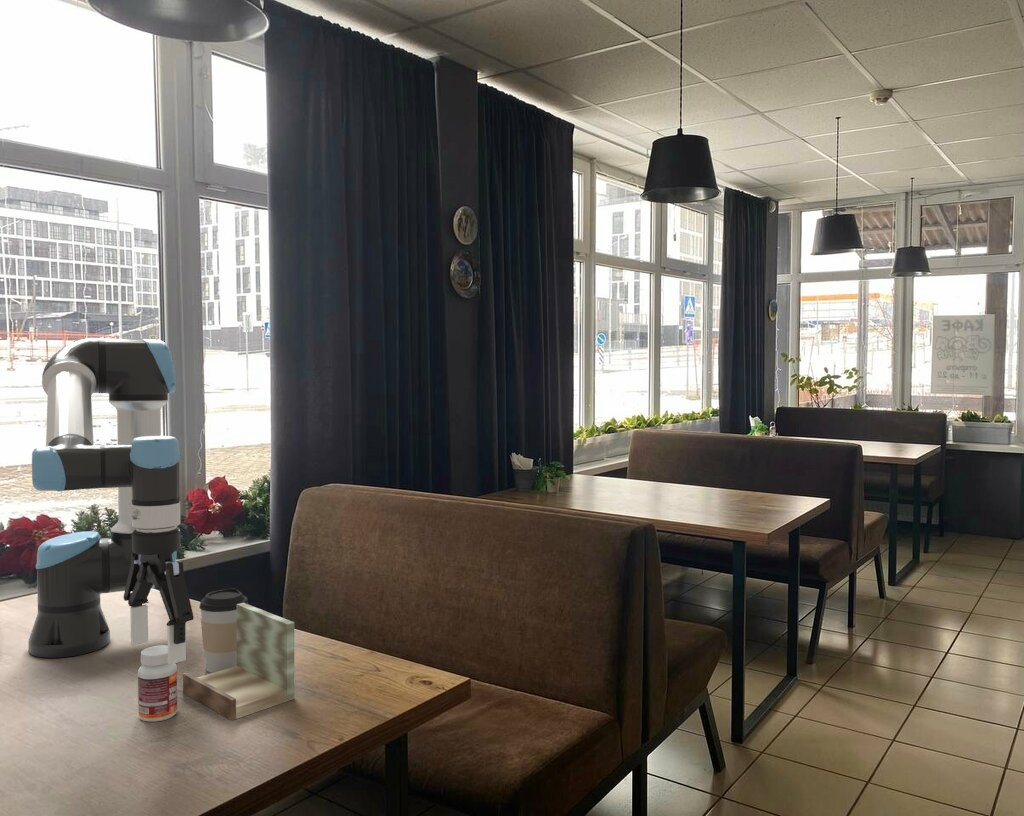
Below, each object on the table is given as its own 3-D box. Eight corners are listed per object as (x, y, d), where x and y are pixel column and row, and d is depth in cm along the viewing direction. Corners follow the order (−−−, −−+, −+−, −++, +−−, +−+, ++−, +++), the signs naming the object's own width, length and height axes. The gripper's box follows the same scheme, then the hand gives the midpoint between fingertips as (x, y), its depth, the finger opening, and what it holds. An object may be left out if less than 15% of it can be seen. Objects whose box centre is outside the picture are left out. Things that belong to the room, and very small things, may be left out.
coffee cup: (232, 677, 158) (232, 600, 157) (190, 673, 159) (189, 597, 158) (256, 660, 166) (256, 587, 165) (216, 656, 168) (215, 584, 167)
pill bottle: (177, 719, 139) (177, 653, 138) (137, 725, 137) (137, 658, 136) (177, 705, 145) (176, 642, 144) (138, 710, 142) (137, 646, 142)
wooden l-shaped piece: (182, 692, 150) (182, 617, 149) (243, 673, 159) (243, 602, 159) (231, 720, 139) (231, 639, 138) (294, 698, 148) (294, 622, 147)
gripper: (102, 521, 144) (103, 641, 145) (169, 542, 128) (171, 676, 129) (144, 516, 150) (146, 631, 151) (214, 535, 133) (215, 664, 134)
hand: (157, 652), depth 140 cm, fingers open, 13 cm apart
